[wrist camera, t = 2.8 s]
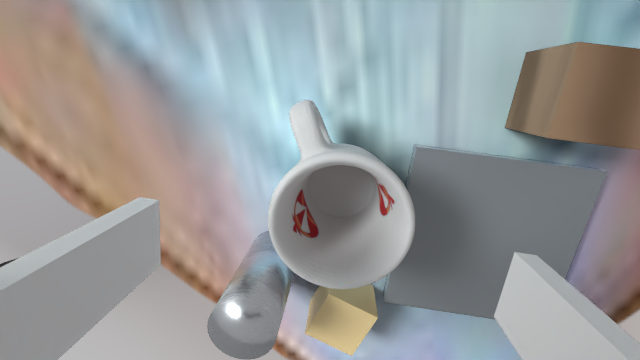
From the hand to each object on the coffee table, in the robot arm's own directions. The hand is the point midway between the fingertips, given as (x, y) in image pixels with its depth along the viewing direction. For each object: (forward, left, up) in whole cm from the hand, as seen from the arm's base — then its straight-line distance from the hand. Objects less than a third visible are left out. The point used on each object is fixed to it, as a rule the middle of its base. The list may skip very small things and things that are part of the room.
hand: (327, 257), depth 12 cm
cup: (0, 0, -13) cm, 13 cm away
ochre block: (+2, -11, -13) cm, 17 cm away
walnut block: (+14, +7, -13) cm, 20 cm away
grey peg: (-4, -8, -13) cm, 16 cm away
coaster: (+12, -4, -13) cm, 18 cm away
